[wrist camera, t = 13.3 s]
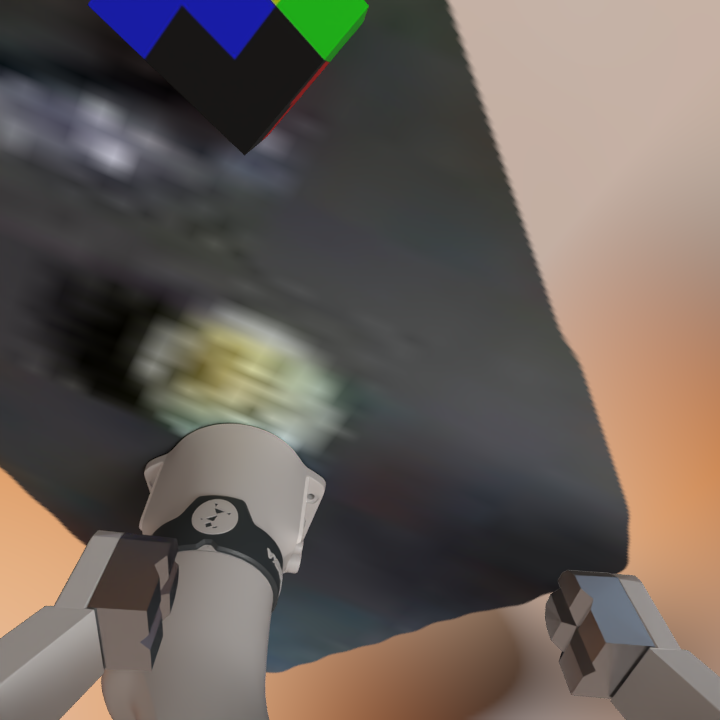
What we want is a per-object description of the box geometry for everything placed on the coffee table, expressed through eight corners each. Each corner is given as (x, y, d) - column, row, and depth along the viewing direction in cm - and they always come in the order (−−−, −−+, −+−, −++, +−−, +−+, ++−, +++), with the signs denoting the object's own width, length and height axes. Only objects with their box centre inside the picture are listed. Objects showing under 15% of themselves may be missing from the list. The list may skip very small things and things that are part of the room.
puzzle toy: (153, 21, 34) (87, 4, 25) (247, -118, 31) (208, -192, 22) (267, 135, 38) (244, 155, 29) (362, 22, 34) (369, 6, 26)
